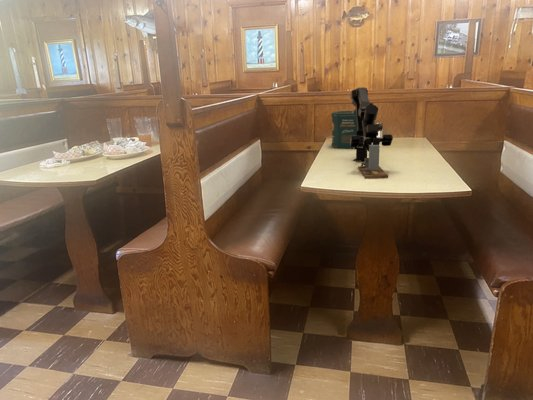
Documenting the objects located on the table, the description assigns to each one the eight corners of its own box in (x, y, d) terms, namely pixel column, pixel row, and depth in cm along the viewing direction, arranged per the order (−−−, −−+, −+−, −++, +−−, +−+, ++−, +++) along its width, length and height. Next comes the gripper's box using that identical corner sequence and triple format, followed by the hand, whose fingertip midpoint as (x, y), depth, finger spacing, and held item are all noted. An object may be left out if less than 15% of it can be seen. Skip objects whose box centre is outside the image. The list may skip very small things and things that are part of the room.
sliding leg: (364, 170, 198) (365, 145, 195) (377, 169, 198) (378, 144, 194) (365, 171, 195) (366, 146, 192) (378, 171, 195) (379, 145, 191)
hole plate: (357, 168, 209) (358, 158, 207) (378, 168, 208) (379, 157, 207) (365, 178, 190) (365, 167, 189) (388, 177, 190) (388, 166, 188)
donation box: (357, 149, 258) (358, 101, 250) (330, 148, 263) (330, 101, 255) (360, 144, 272) (361, 98, 264) (334, 144, 277) (334, 99, 269)
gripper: (351, 117, 197) (354, 146, 189) (392, 116, 196) (397, 144, 189) (348, 132, 207) (351, 160, 199) (388, 131, 206) (392, 158, 198)
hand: (373, 155), depth 196 cm, fingers closed, pressing on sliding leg
